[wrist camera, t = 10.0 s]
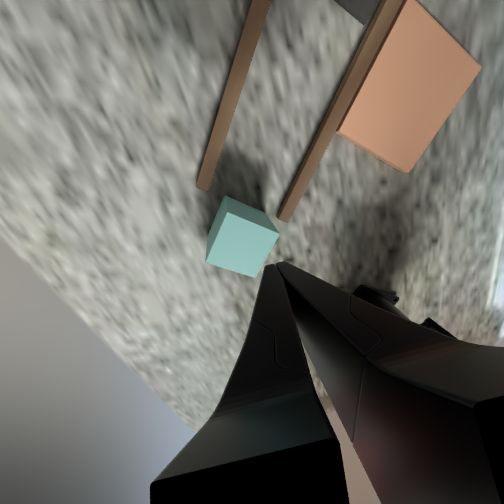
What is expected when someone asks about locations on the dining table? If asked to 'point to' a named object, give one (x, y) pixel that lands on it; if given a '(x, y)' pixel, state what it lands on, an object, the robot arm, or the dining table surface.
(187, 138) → the dining table surface
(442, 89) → the tile
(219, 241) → the block
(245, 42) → the chute
